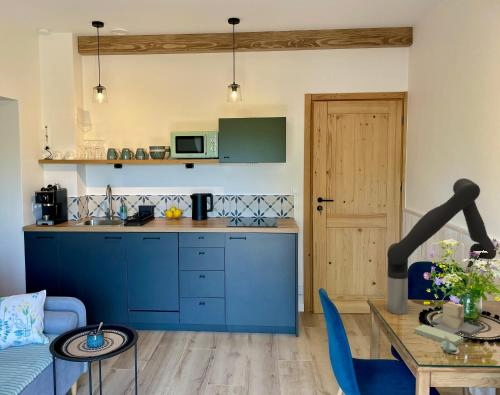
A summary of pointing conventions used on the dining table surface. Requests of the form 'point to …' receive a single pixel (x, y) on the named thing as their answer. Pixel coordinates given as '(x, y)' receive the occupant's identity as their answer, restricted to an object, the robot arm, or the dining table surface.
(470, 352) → the dining table surface
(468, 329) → the trap deck
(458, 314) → the birch block
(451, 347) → the pacifier
